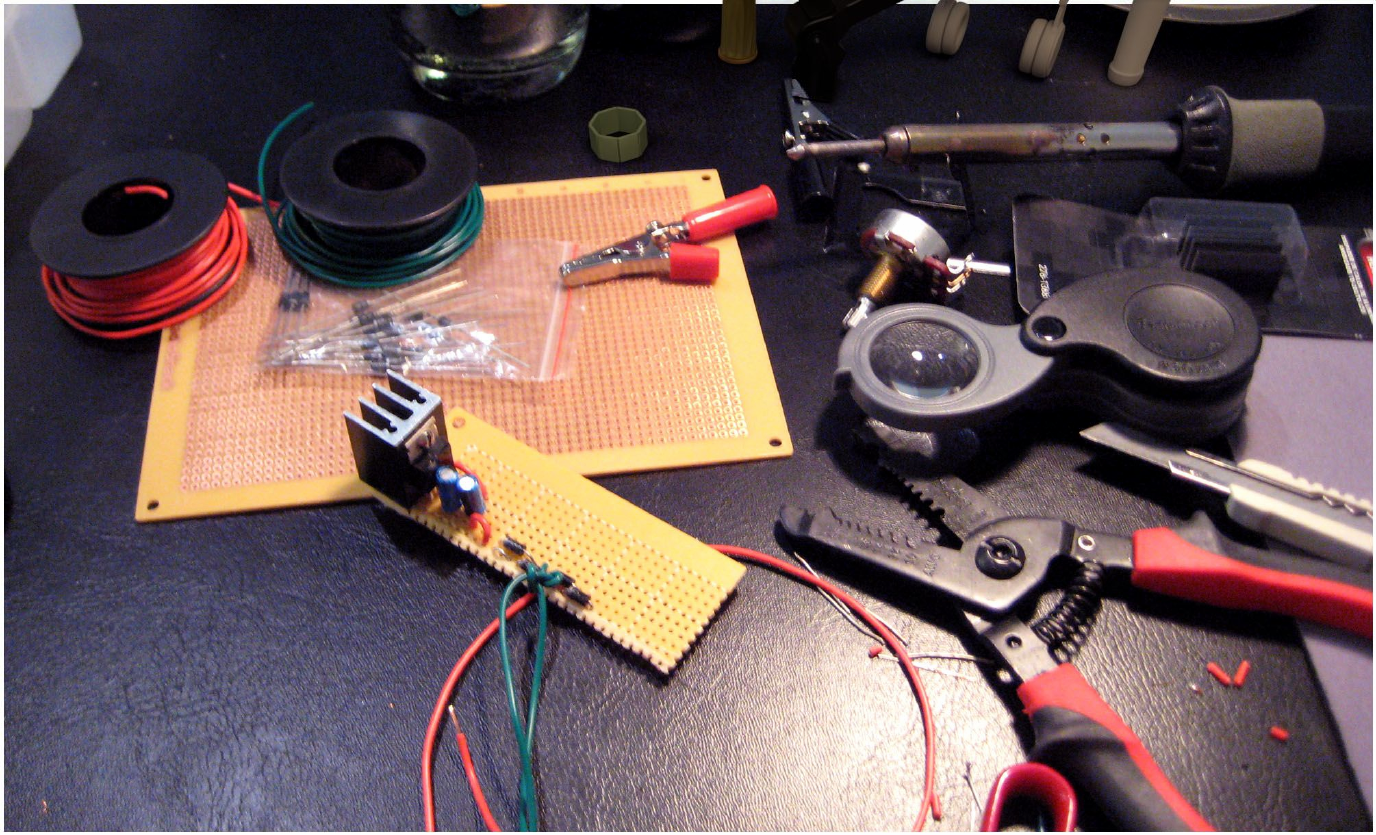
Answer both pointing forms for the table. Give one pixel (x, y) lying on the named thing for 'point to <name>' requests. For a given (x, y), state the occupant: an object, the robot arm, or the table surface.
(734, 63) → the coaster
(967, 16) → the headphones
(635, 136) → the ring
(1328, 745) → the table surface
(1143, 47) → the bottle
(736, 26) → the vase
